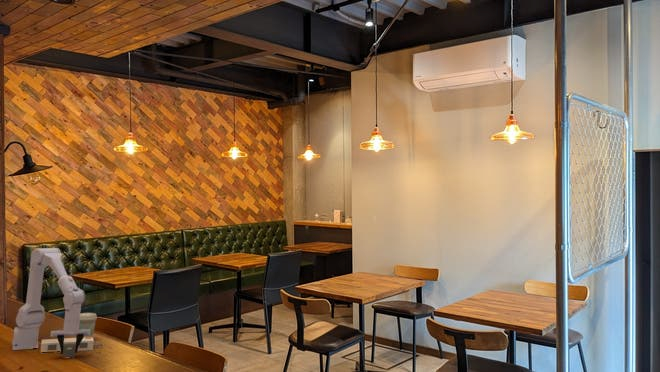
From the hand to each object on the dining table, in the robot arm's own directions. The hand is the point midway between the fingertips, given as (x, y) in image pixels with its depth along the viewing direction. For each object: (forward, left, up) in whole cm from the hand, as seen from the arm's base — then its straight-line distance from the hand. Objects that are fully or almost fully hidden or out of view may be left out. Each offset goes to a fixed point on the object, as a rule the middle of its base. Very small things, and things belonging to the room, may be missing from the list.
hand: (68, 353), depth 204 cm
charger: (0, 0, -2) cm, 2 cm away
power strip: (+2, +12, -2) cm, 13 cm away
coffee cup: (+8, +27, -2) cm, 29 cm away
